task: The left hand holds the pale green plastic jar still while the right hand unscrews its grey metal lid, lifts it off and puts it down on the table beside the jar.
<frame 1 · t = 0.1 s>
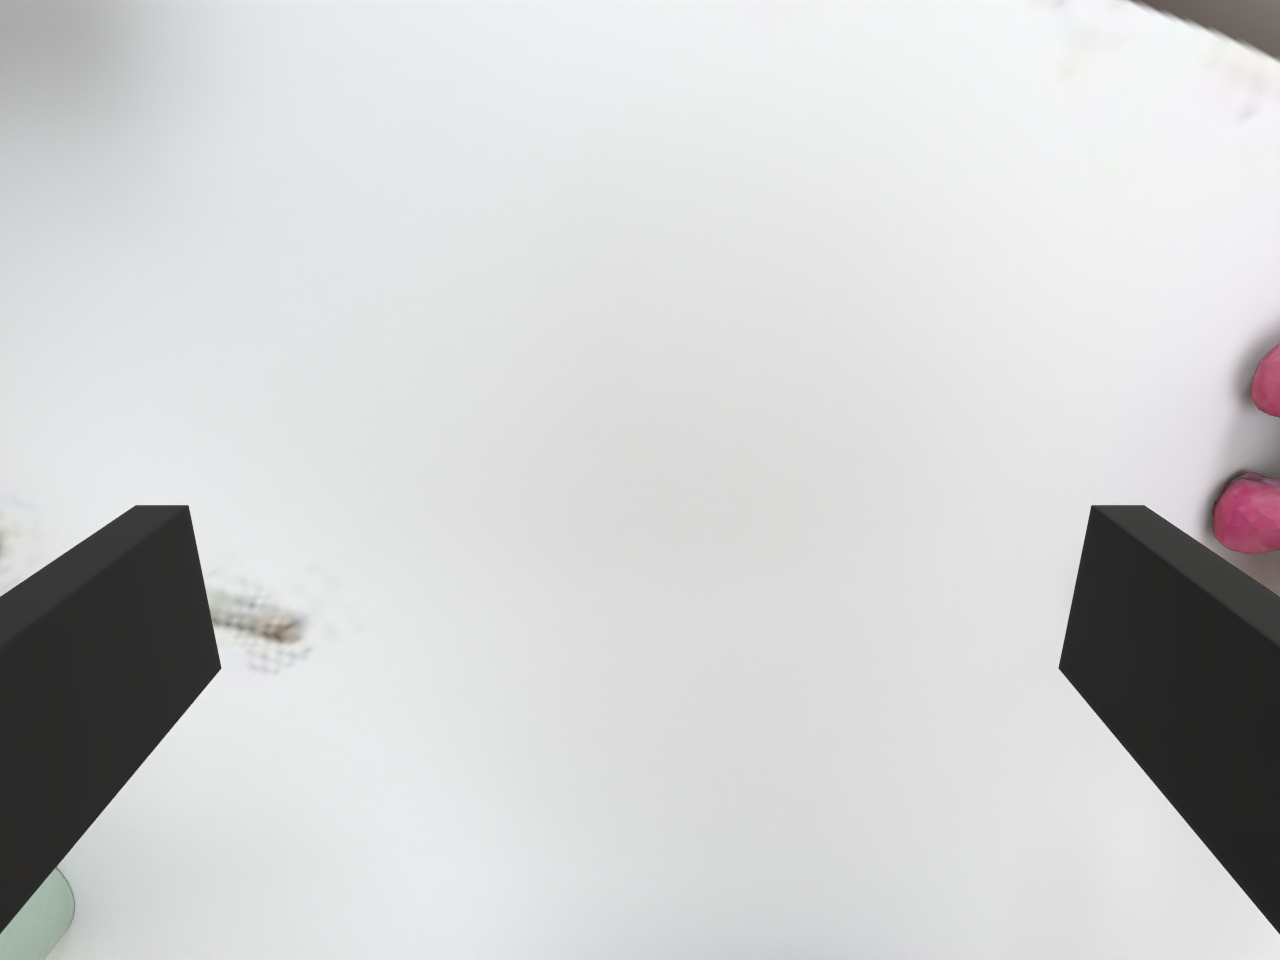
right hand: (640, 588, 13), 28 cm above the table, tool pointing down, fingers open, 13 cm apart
jar: (0, 893, 51), on the table
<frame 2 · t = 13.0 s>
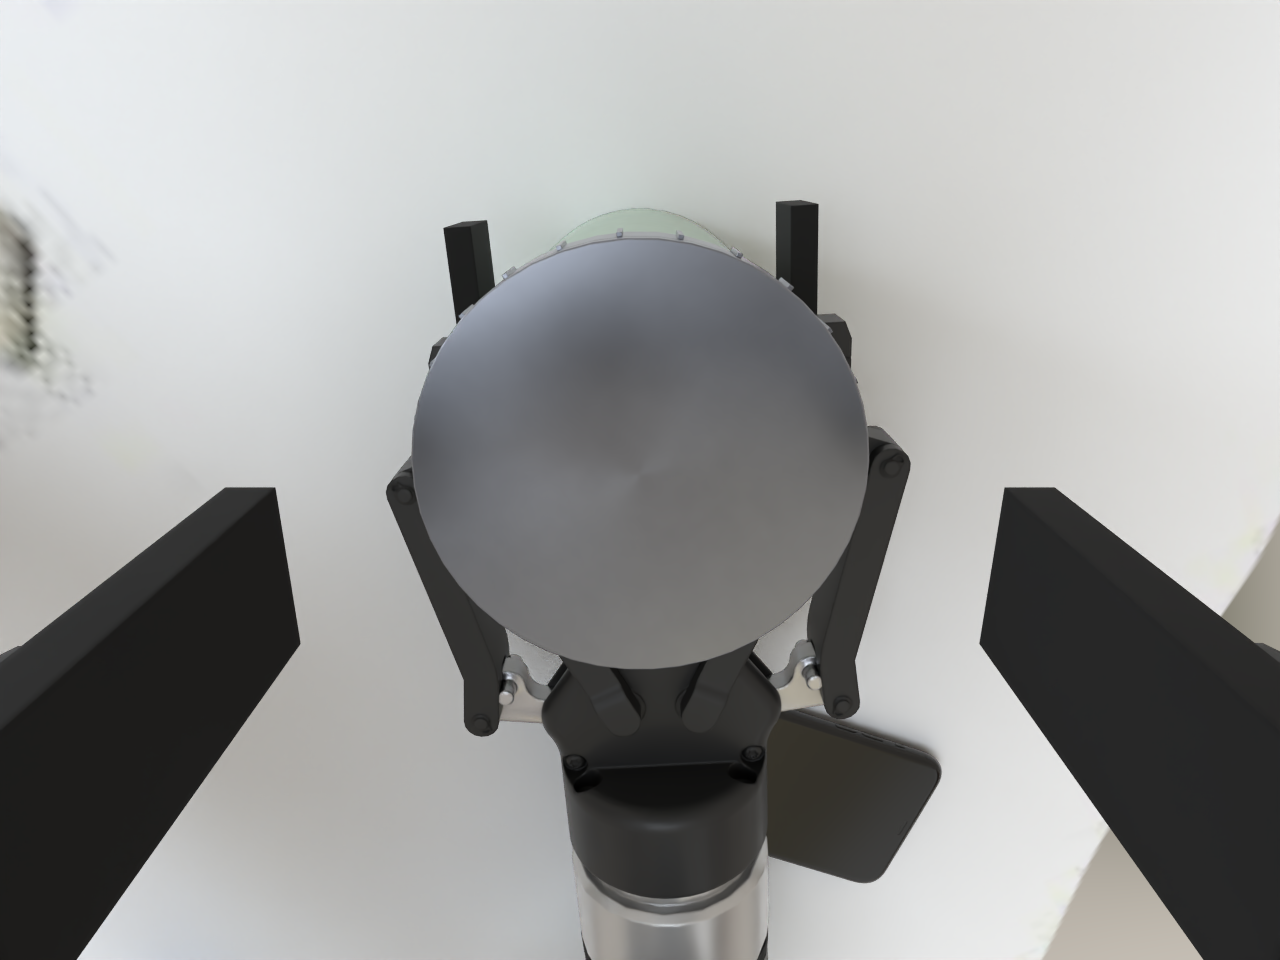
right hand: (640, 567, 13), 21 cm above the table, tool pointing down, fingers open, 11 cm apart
lid: (640, 468, 18), point 16 cm above the table, screwed on, not yet turned
smartphone: (752, 767, 40), on the table
jar: (640, 329, 32), on the table, touching left hand
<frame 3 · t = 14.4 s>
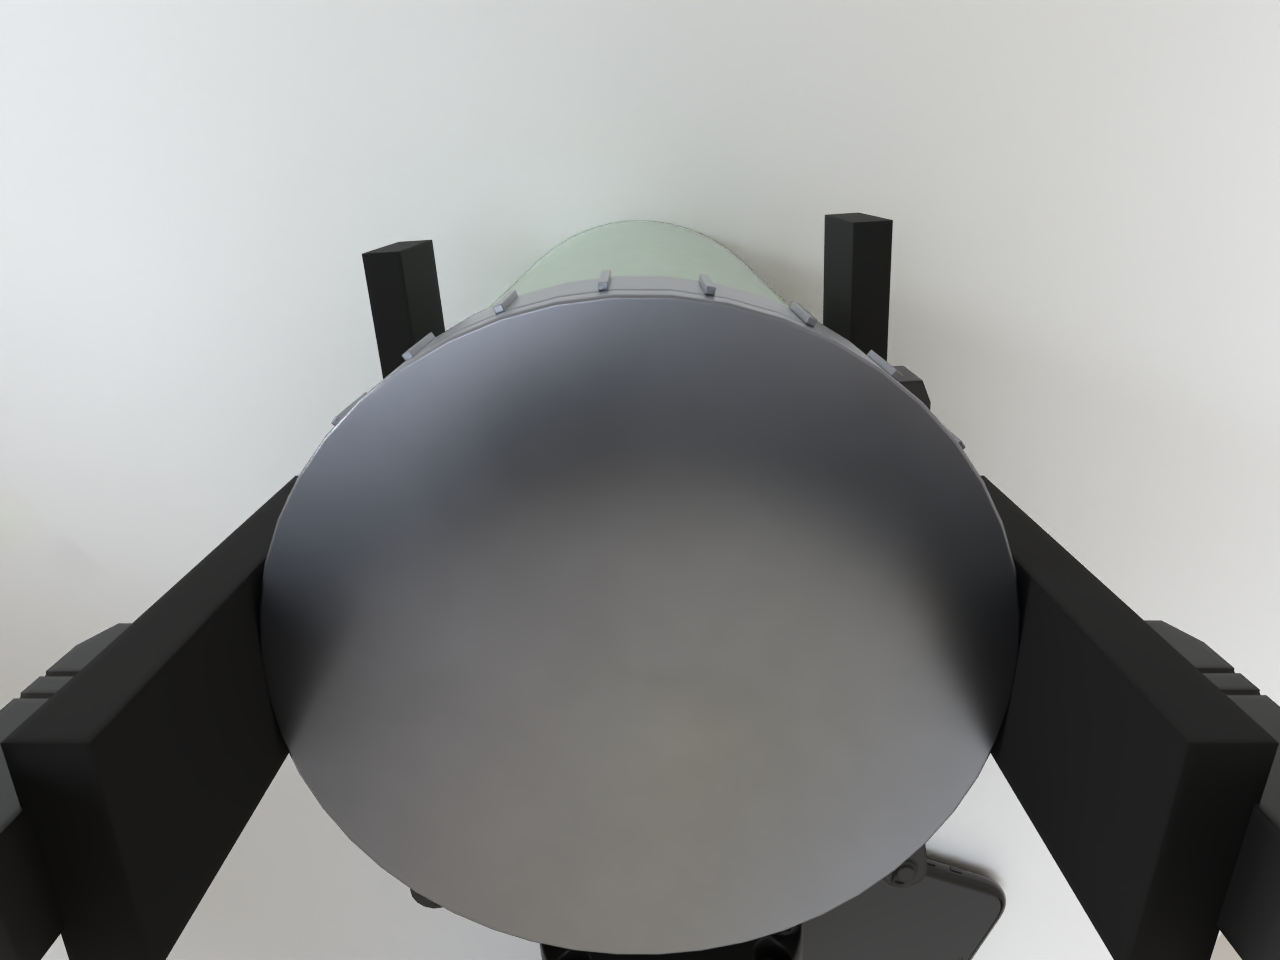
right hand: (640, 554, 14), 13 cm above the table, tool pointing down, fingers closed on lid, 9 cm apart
lid: (639, 661, 11), point 16 cm above the table, screwed on, not yet turned, touching right hand
smartphone: (776, 891, 33), on the table
jar: (639, 372, 26), on the table, touching left hand
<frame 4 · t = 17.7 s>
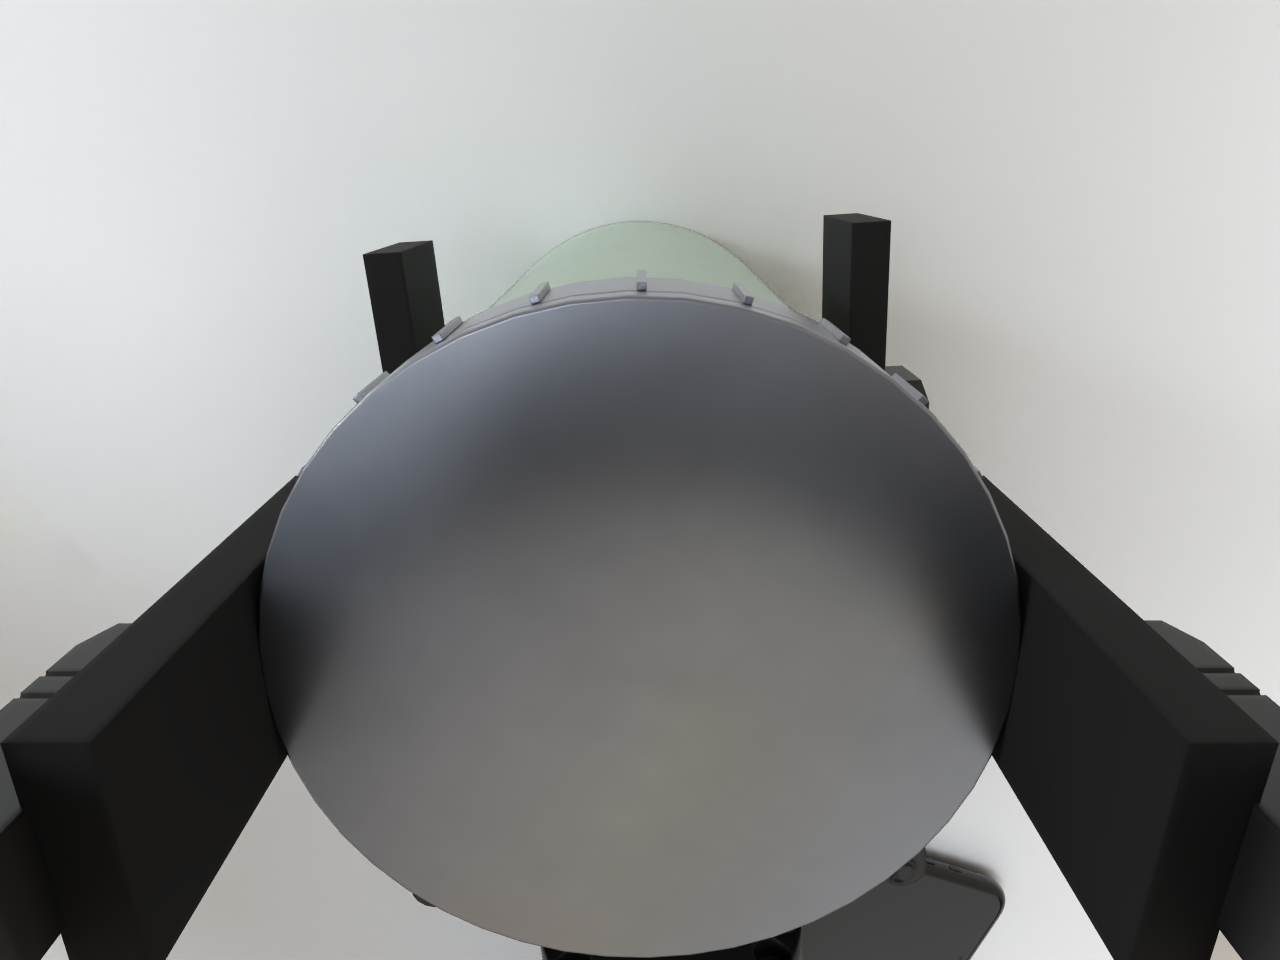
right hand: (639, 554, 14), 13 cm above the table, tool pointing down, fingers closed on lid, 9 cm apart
lid: (639, 663, 11), point 16 cm above the table, turned 96° so far, risen 0.1 cm, still on its thread, touching right hand
smartphone: (776, 890, 33), on the table
jar: (639, 372, 26), on the table, touching left hand
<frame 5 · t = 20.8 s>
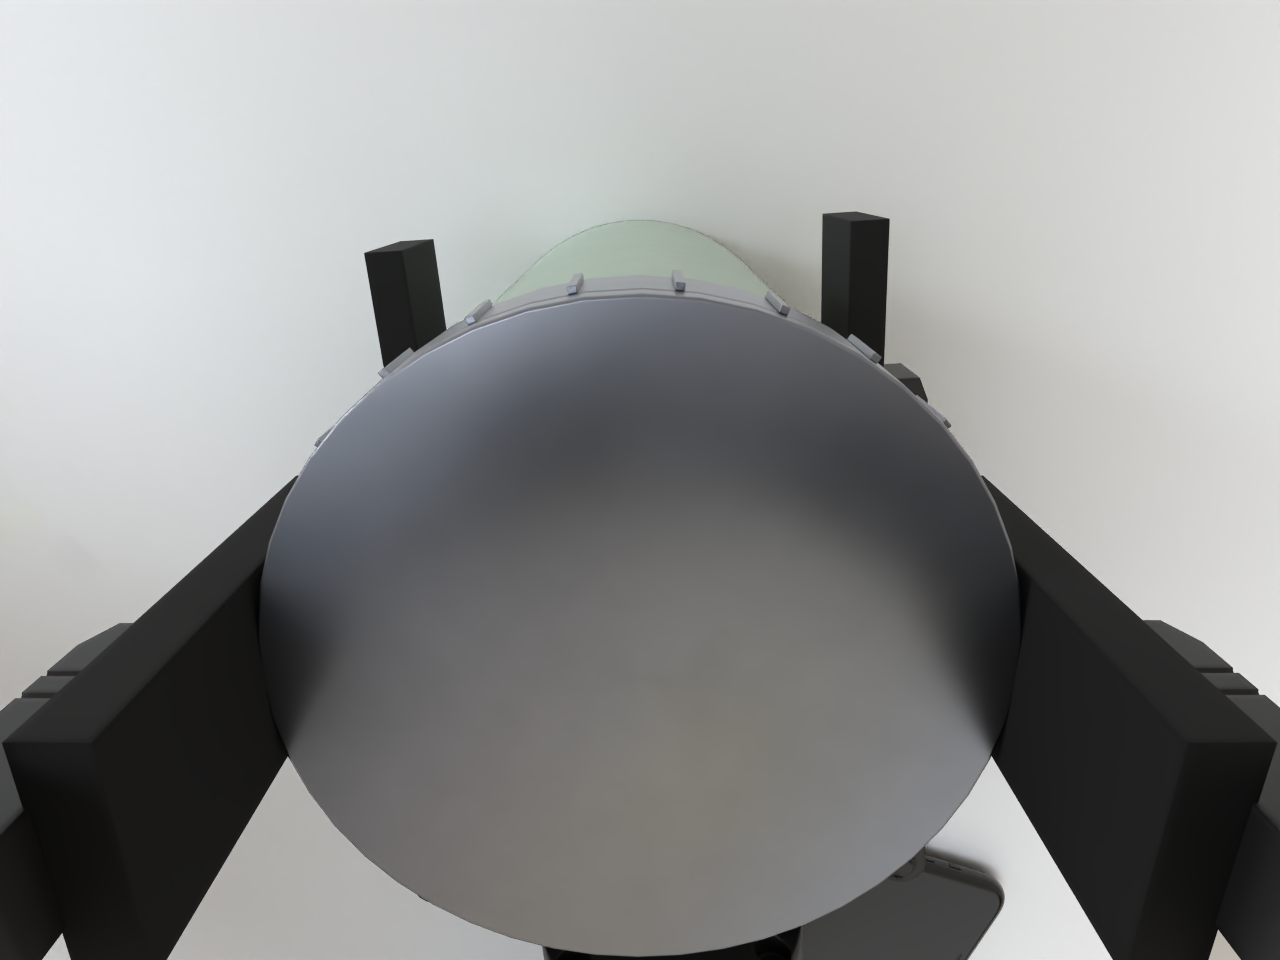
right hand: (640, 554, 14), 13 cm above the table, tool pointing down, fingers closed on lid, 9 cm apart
lid: (639, 662, 11), point 16 cm above the table, turned 191° so far, risen 0.2 cm, still on its thread, touching right hand
smartphone: (776, 887, 33), on the table
jar: (639, 370, 26), on the table, touching left hand
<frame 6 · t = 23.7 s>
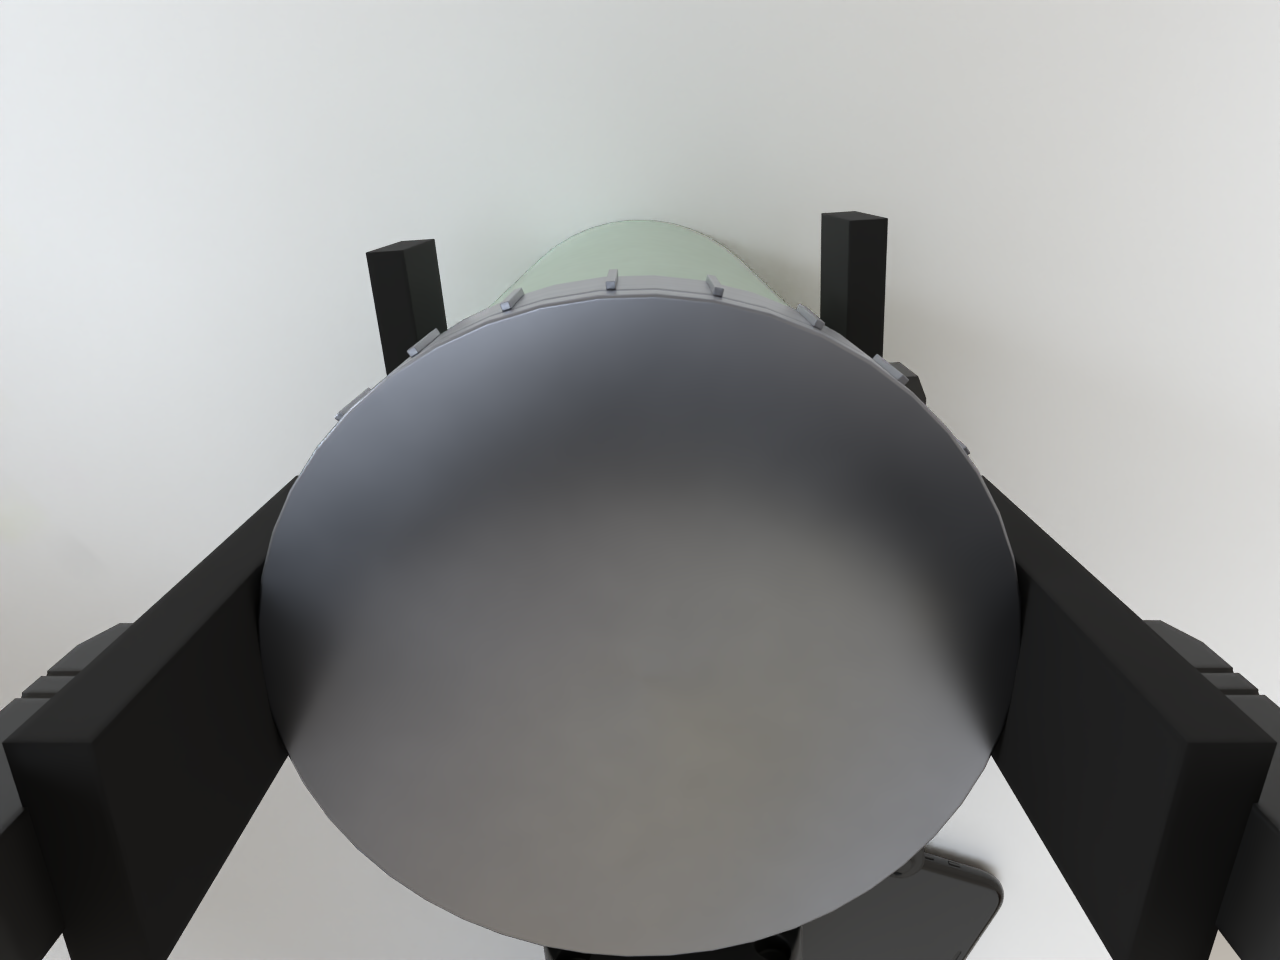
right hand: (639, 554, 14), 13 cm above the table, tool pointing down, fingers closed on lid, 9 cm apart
lid: (639, 662, 11), point 16 cm above the table, turned 287° so far, risen 0.3 cm, still on its thread, touching right hand
smartphone: (776, 885, 33), on the table
jar: (639, 369, 26), on the table, touching left hand
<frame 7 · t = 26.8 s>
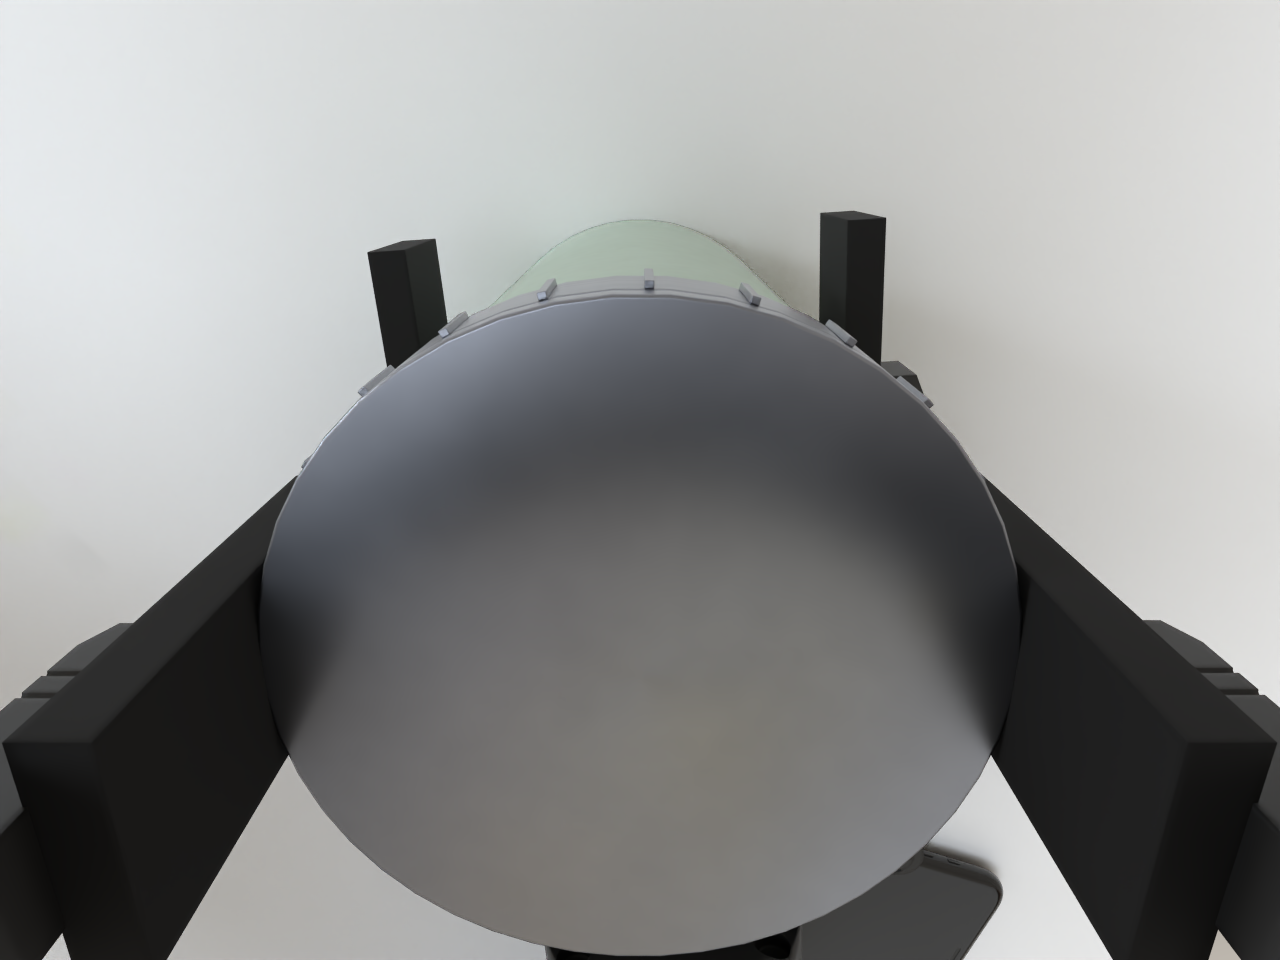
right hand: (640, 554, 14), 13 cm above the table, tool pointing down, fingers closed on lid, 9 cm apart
lid: (639, 662, 11), point 16 cm above the table, turned 382° so far, risen 0.4 cm, still on its thread, touching right hand
smartphone: (776, 883, 33), on the table
jar: (639, 369, 26), on the table, touching left hand
when the right hand's fingers open (0 cm above the table, at t = 33.0 s): lid drops 2 cm, point 1 cm above the table.
when the left hand's fingers open (7 cm above the table, at t = 34.0 s): jar stays where it is, on the table.
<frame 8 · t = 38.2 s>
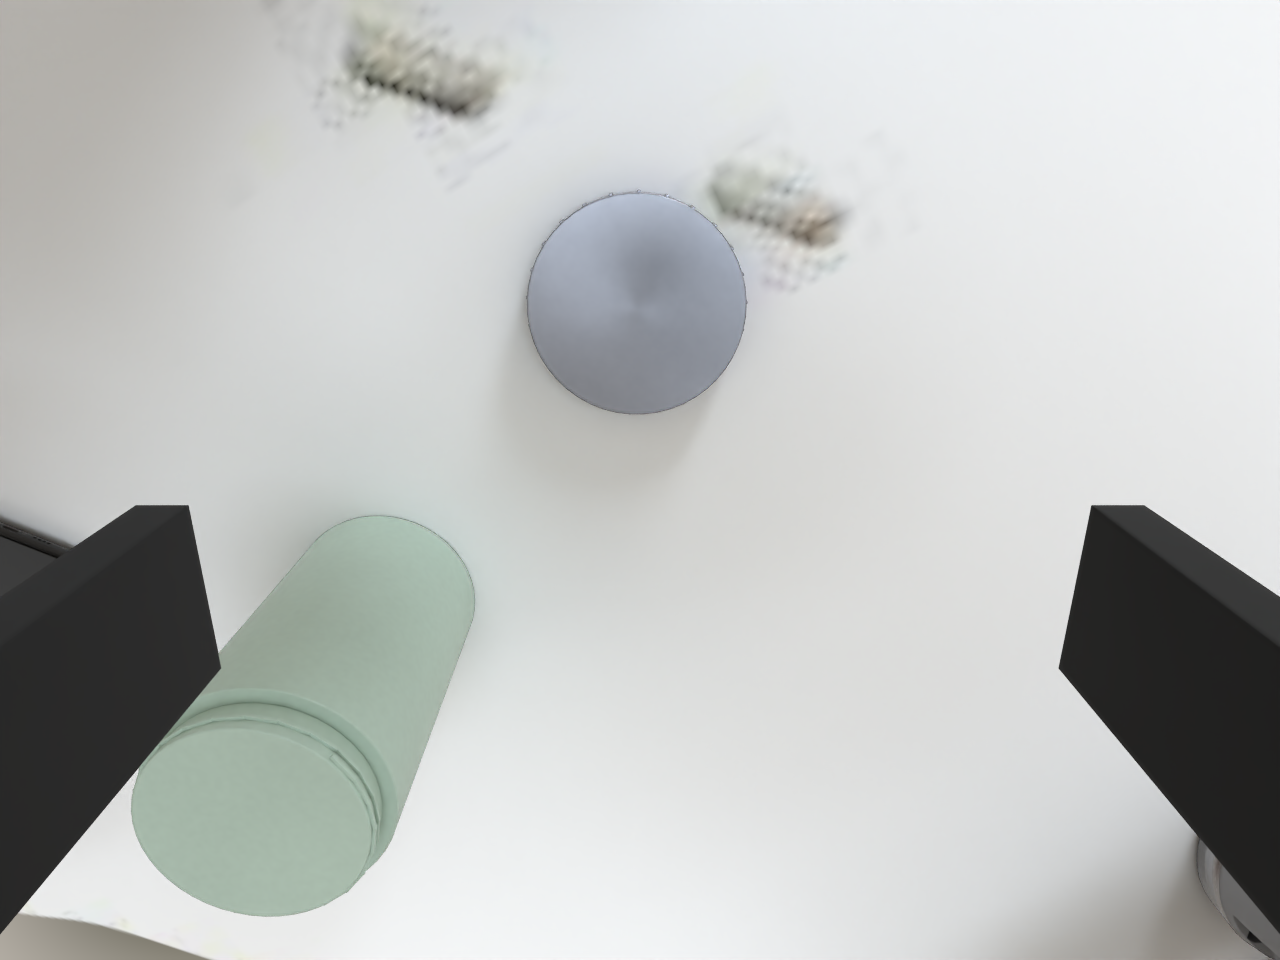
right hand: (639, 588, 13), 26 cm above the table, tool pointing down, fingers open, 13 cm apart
lid: (636, 307, 36), point 1 cm above the table, off its thread
jar: (387, 596, 42), on the table
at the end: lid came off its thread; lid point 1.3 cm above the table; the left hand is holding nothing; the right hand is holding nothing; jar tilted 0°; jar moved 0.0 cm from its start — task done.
